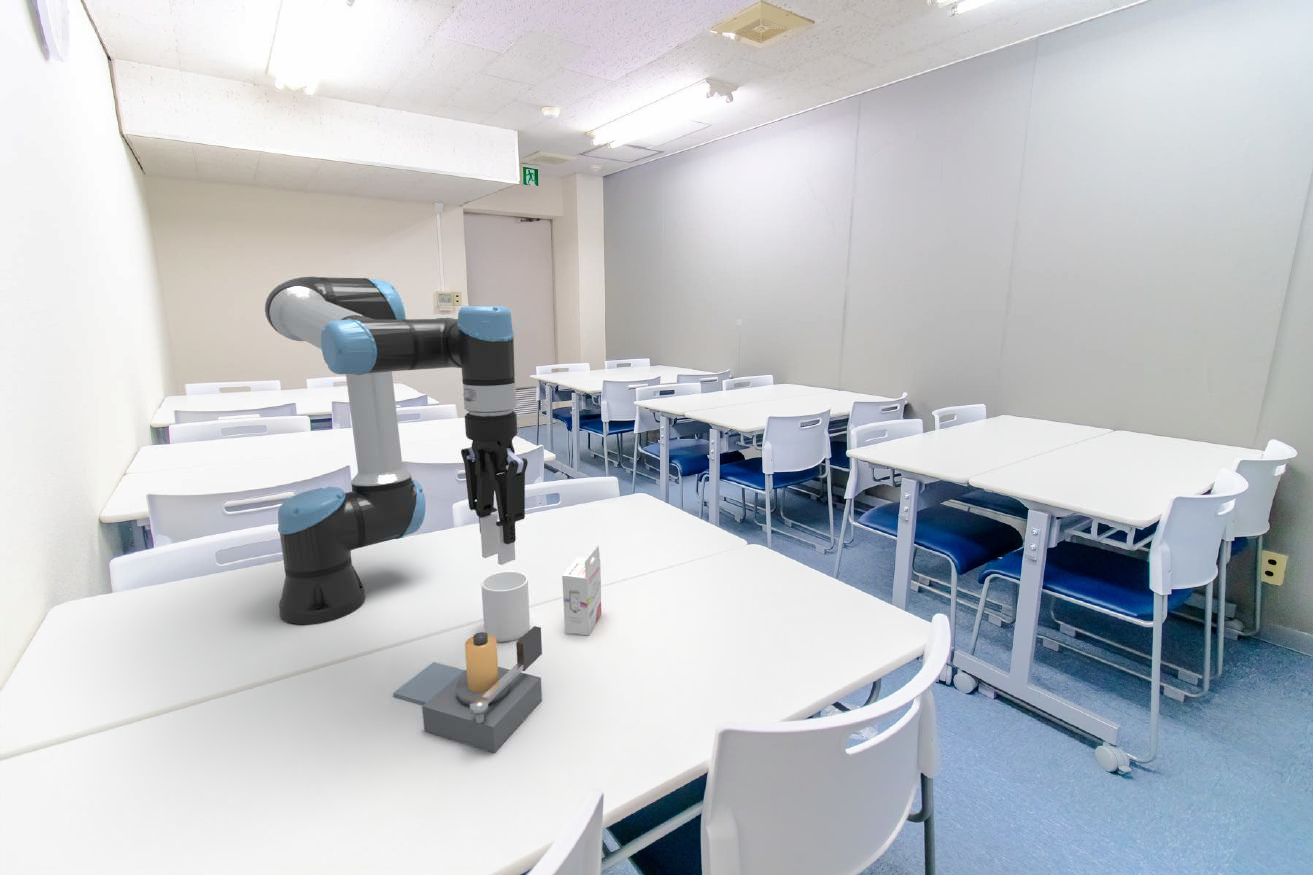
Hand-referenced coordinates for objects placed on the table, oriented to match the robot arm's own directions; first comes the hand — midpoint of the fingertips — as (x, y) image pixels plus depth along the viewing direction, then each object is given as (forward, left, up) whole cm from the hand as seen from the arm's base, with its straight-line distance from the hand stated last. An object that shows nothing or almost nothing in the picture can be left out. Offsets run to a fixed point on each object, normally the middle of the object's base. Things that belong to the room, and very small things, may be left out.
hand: (498, 557), depth 95 cm
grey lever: (+7, -8, -15) cm, 18 cm away
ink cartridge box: (+4, +19, -21) cm, 29 cm away
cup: (-9, +13, -21) cm, 26 cm away
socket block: (+3, -10, -21) cm, 23 cm away
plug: (+3, -10, -21) cm, 23 cm away
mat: (-8, -7, -21) cm, 23 cm away
